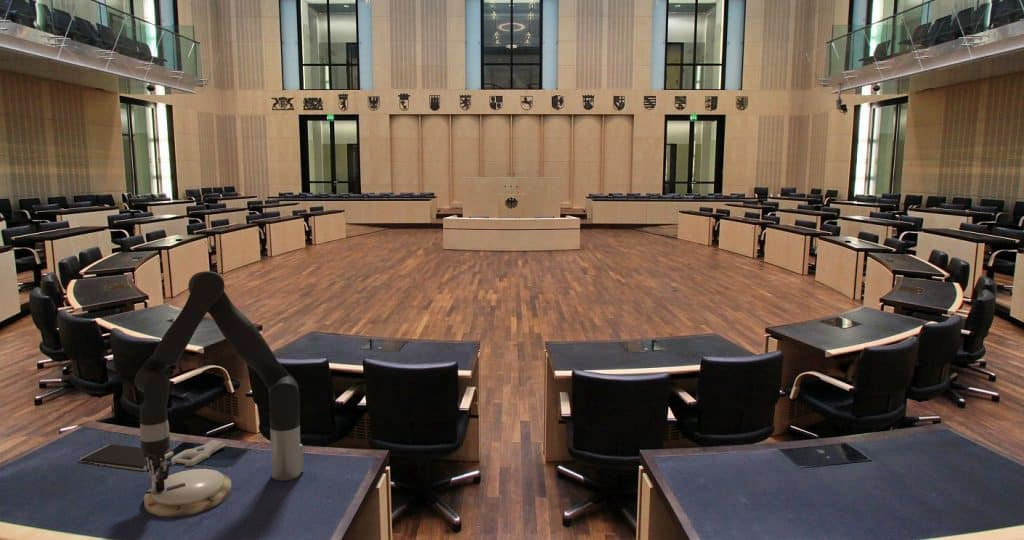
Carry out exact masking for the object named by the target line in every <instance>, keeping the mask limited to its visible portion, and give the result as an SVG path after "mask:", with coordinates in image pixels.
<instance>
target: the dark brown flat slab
mask: <svg viewBox="0 0 1024 540" xmlns="http://www.w3.org/2000/svg"><path fill="white" fill-rule="evenodd" d="M164 455H165V457H166V460H167V459H169V458H172V457H173V456H174V451H172V450H171V451H170V450H167V451H166V452H165V453H164ZM79 461H82V462H89V463H88V464H90V463H94V464H93V465H97V464H99V465H98V466H104V465H106V467H111V466H112V467H113V468H119V469H127V470H135V471H142V472H147V469H146V464H145V459H144V454H143V453H142V452H141V447H138V446H129V445H120V444H113V443H111V444H107V445H105V446H103V447H101V448H99V449H97V450H96V451H93V452H91V453H89V454H87V455H85V456H83V457H80V458H79ZM82 462H81V463H82Z"/></svg>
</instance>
